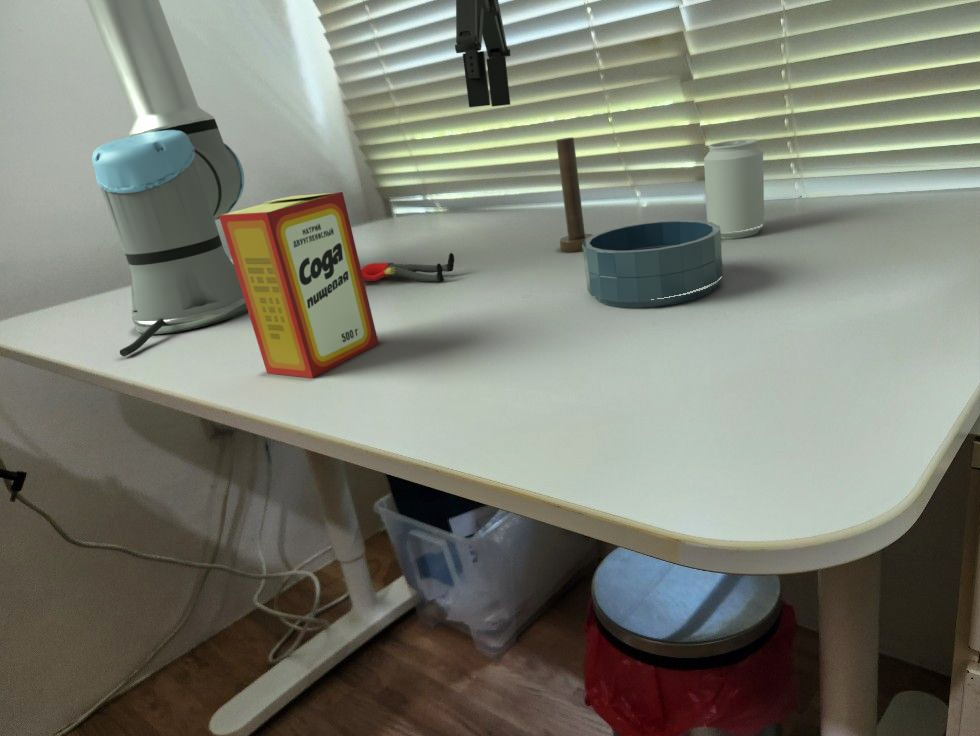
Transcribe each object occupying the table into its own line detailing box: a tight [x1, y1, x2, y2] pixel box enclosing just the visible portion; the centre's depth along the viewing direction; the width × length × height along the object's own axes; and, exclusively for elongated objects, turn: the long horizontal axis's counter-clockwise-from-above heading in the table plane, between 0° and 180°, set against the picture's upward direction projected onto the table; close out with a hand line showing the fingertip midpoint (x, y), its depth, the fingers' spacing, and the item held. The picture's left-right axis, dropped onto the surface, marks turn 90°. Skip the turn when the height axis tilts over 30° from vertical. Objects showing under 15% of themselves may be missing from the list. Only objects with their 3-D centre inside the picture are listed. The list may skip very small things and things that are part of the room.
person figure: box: [361, 252, 455, 283], centre depth 104 cm, size 5×4×18 cm
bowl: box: [582, 219, 724, 309], centre depth 82 cm, size 15×15×6 cm
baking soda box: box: [219, 191, 380, 379], centre depth 73 cm, size 10×6×16 cm
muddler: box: [555, 136, 594, 253], centre depth 105 cm, size 5×5×15 cm
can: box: [703, 138, 765, 240], centre depth 100 cm, size 8×8×12 cm
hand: (491, 106), depth 106 cm, fingers open, 13 cm apart
